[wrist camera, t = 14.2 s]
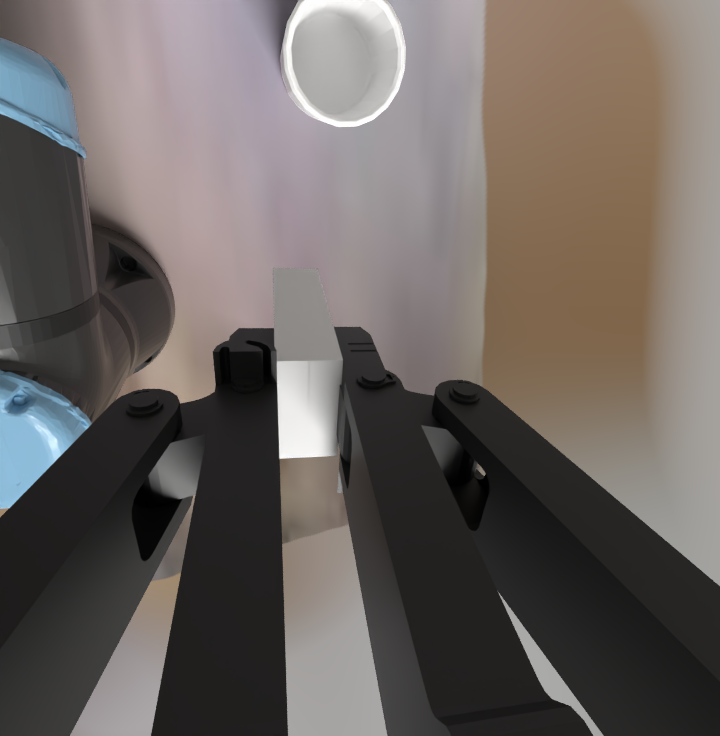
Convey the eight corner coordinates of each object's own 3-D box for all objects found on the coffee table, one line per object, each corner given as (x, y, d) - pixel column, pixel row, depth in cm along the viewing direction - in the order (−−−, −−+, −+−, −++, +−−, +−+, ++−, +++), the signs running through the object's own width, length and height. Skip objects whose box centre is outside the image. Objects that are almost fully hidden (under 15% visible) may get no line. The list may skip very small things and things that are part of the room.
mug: (377, -59, 35) (411, -109, 27) (376, 120, 41) (403, 125, 33) (270, -63, 34) (270, -116, 26) (285, 122, 40) (289, 128, 32)
